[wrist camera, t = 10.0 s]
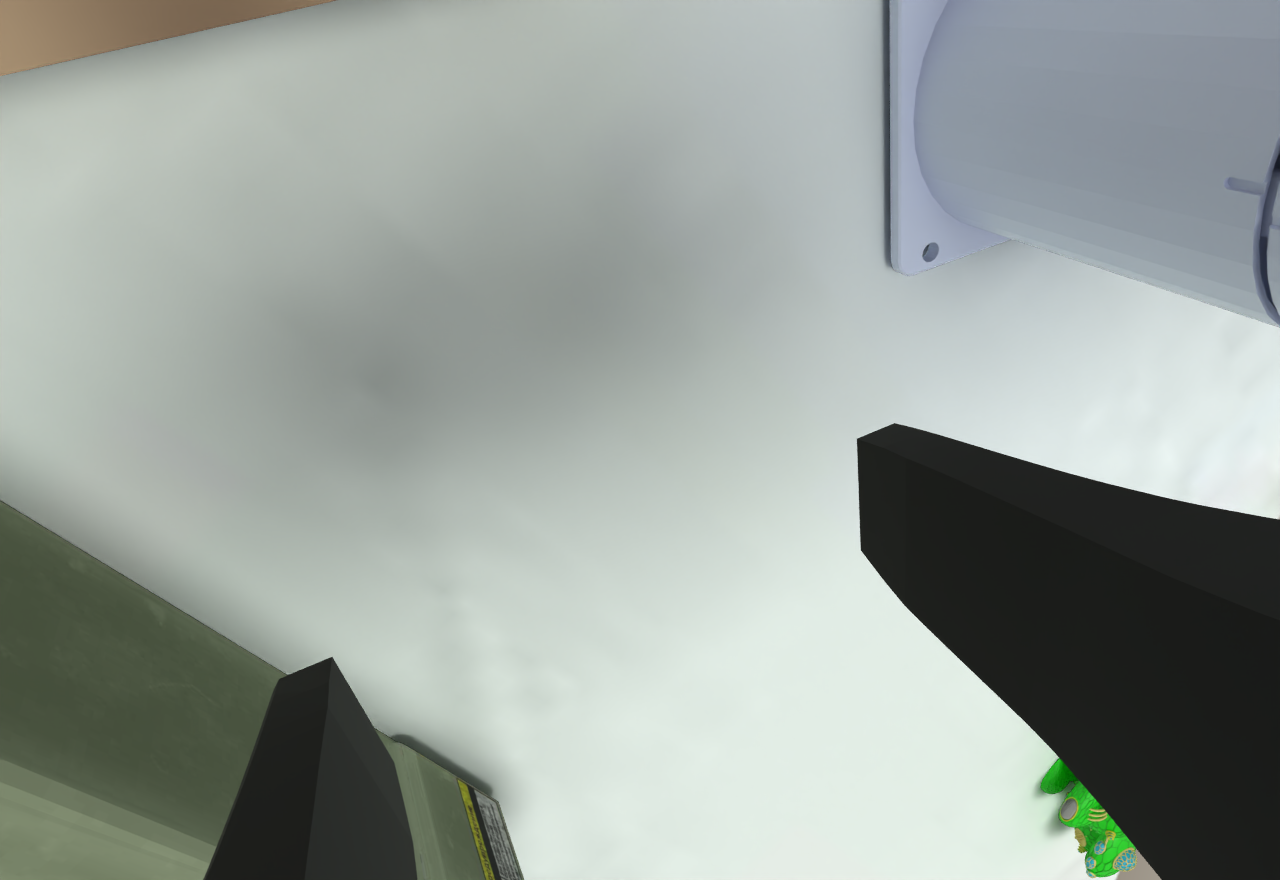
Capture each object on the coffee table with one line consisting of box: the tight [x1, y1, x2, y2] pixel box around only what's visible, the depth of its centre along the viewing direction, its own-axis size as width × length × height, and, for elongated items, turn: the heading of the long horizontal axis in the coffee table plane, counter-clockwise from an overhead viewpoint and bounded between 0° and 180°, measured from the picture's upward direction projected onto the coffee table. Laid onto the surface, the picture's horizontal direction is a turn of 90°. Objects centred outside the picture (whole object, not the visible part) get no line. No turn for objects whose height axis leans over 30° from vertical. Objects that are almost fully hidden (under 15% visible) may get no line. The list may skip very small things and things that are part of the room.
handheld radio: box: [0, 501, 524, 880], centre depth 16 cm, size 7×3×25 cm
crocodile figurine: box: [1041, 759, 1137, 878], centre depth 38 cm, size 7×18×4 cm, turn 7°
